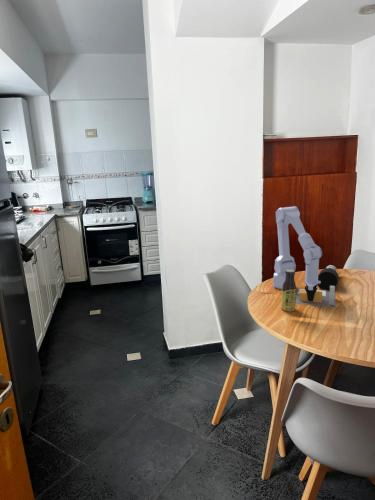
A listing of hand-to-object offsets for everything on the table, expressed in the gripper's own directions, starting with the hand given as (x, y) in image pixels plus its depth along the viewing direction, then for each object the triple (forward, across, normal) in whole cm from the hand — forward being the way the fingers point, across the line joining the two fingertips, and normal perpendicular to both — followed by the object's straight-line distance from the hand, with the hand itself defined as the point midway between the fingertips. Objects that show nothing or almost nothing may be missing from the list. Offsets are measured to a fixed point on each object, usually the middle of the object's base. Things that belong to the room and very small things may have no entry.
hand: (310, 299), depth 176 cm
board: (+2, +4, -2) cm, 5 cm away
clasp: (0, 0, -9) cm, 9 cm away
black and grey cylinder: (+2, +33, -8) cm, 34 cm away
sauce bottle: (+2, -13, +9) cm, 16 cm away
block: (0, 0, 0) cm, 0 cm away
